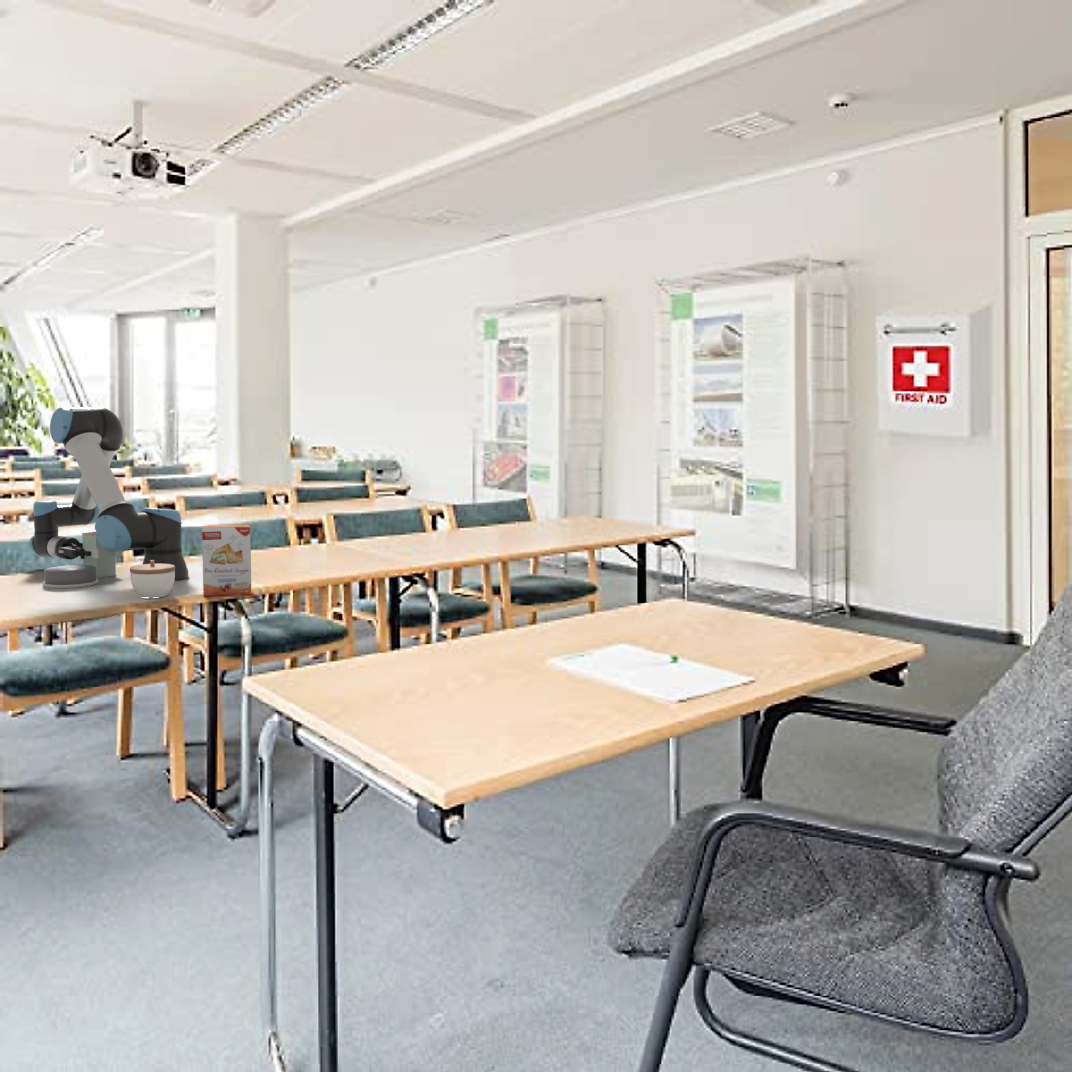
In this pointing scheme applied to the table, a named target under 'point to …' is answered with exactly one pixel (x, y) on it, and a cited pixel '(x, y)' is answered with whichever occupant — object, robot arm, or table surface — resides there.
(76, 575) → the podium
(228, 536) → the cracker box
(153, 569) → the lidded bowl
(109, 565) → the carton
